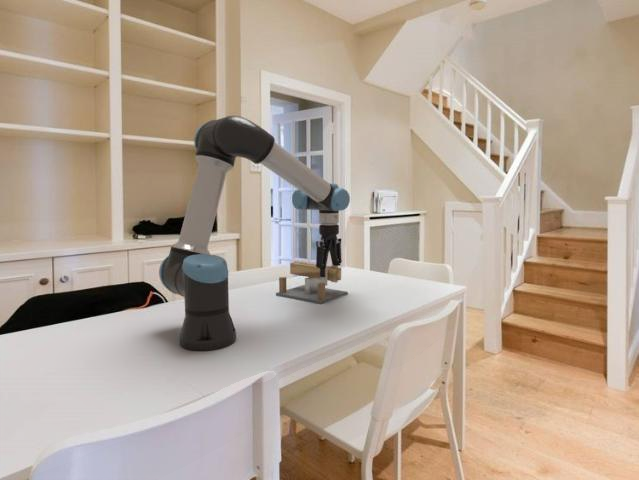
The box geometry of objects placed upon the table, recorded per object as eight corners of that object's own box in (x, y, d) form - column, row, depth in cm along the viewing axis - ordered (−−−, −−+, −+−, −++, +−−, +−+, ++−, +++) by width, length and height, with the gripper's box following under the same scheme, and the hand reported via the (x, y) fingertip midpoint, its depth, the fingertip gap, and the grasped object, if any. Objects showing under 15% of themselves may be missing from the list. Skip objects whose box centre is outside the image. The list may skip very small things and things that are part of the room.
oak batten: (334, 281, 159) (334, 269, 158) (290, 273, 172) (290, 262, 171) (341, 279, 162) (341, 268, 162) (297, 272, 175) (297, 261, 175)
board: (320, 304, 153) (320, 285, 152) (275, 295, 166) (275, 278, 165) (347, 294, 167) (347, 276, 166) (304, 287, 180) (304, 270, 179)
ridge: (309, 296, 163) (309, 279, 162) (305, 296, 165) (304, 278, 164) (324, 291, 171) (324, 274, 170) (320, 291, 173) (320, 274, 172)
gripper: (321, 226, 151) (322, 289, 153) (350, 222, 166) (350, 280, 169) (305, 225, 155) (306, 286, 158) (335, 222, 170) (335, 278, 173)
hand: (329, 283), depth 163 cm, fingers open, 6 cm apart
